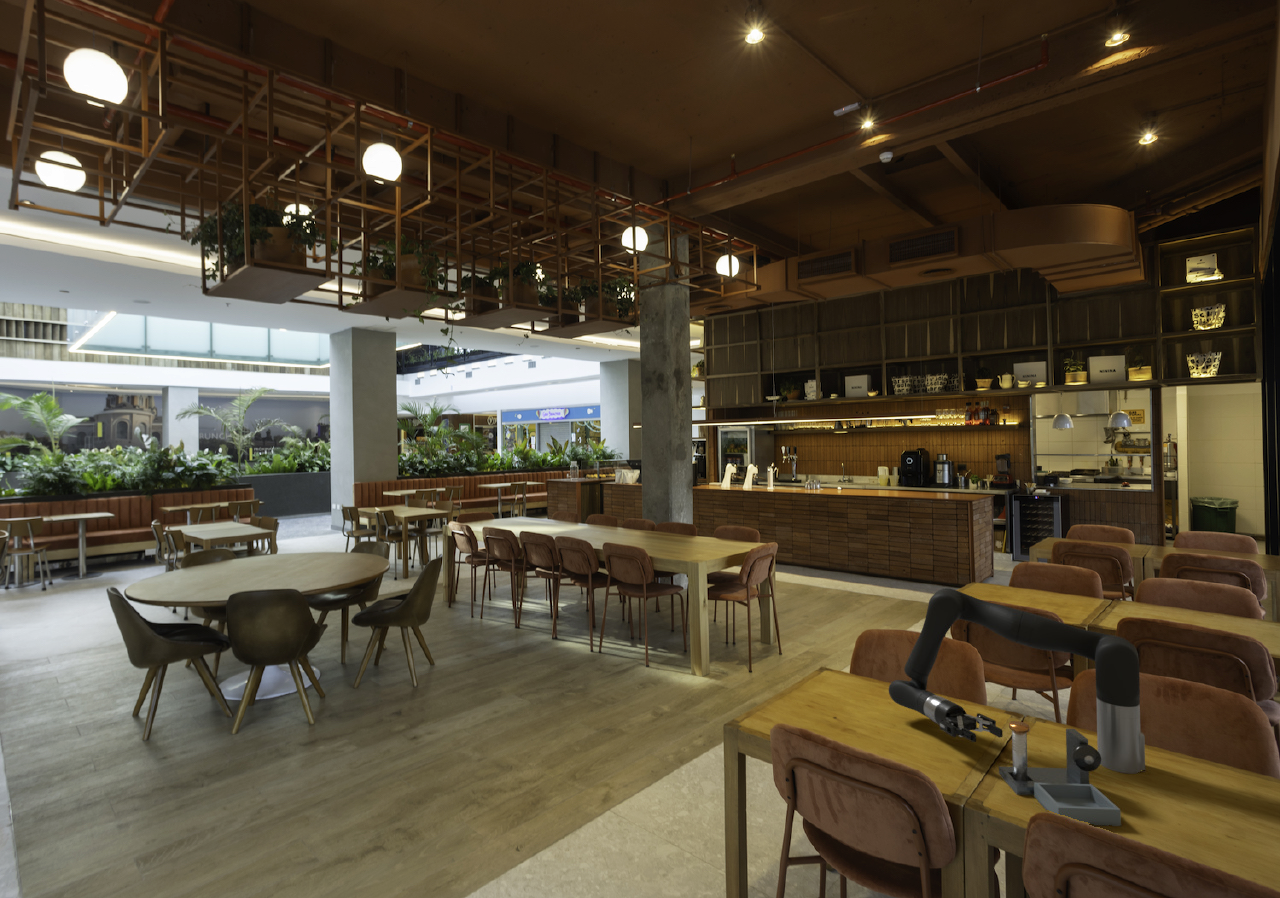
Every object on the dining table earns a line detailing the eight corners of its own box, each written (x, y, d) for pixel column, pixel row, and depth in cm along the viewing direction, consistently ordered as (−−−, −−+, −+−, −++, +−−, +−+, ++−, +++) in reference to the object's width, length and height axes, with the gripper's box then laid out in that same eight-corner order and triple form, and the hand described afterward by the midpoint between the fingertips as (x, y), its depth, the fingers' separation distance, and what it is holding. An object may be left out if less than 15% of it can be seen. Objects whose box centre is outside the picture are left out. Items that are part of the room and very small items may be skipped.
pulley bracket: (1079, 776, 166) (1078, 725, 166) (1103, 798, 156) (1102, 743, 156) (999, 774, 168) (997, 724, 168) (1017, 795, 158) (1016, 741, 158)
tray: (1092, 799, 156) (1091, 784, 156) (1120, 826, 145) (1120, 809, 145) (1034, 797, 157) (1034, 782, 157) (1058, 823, 146) (1058, 807, 146)
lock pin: (1025, 780, 165) (1024, 721, 165) (1034, 789, 161) (1032, 728, 161) (1007, 779, 165) (1005, 720, 165) (1015, 788, 161) (1013, 728, 161)
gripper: (923, 702, 186) (965, 725, 171) (964, 696, 190) (1009, 718, 175) (923, 729, 186) (966, 754, 171) (965, 722, 190) (1010, 746, 175)
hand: (988, 736), depth 173 cm, fingers open, 8 cm apart
